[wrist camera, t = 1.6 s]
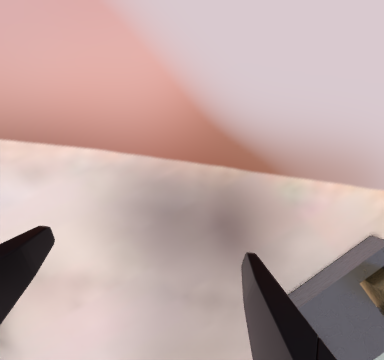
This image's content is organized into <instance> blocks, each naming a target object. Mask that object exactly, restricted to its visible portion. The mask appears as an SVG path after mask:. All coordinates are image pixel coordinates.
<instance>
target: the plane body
mask: <svg viewBox="0 0 384 360" xmlns="http://www.w3.org/2000/svg"><path fill="white" fill-rule="evenodd" d="M380 268H382V269H384V239H380V238H376V237H373V236H369V237H368V238H367V239H365V240H364V241H363V242H361V243H360V244H358V245H357V246H356V247H354V248H353V249H351V250H350V251H349V252H347V253H346V254H345V255H343V256H342V257H340V258H339V259H338V260H336V261H335V262H333V263H332V264H331V265H329V266H328V267H327V268H325V269H324V270H322V271H321V272H320V273H318V274H317V275H315V276H314V277H313V278H311V279H310V280H309V281H307V282H306V283H304V284H303V285H302V286H300V287H299V288H297V289H296V290H295V291H293V292H292V293H291V294H289V295H288V296H289V298H290V299H291V300H292V302H293V303H294V304H295V306H296V307H297V308H298V310H299V311H300V312H301V313H302V315H303V316H304V317H305V319H306V320H307V321H308V323H309V324H310V325H311V327H312V328H313V329H314V331H315V332H316V333H317V334H318V337H320V338H321V340H322V341H323V342H324V343H325V345H326V346H327V347H328V349H329V350H330V351H331V353H332V354H333V355H334V356H335V358H336V359H337V360H374V359H376V358H377V357H378V356H380V355H381V354H382V353H384V311H383V310H382V309H380V308H379V307H376V305H375V304H374V303H373V301H372V300H371V299H370V297H369V296H368V294H367V293H366V292H365V290H364V289H363V288H362V286H361V285H360V283H361V282H362V281H364V280H365V279H366V278H368V277H369V276H371V275H372V274H373V273H375V272H376V271H377V270H379V269H380Z"/></svg>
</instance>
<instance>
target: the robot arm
mask: <svg viewBox="0 0 384 360" xmlns="http://www.w3.org/2000/svg"><path fill="white" fill-rule="evenodd" d="M54 242H55V239H54V236H53V233H52V230H51V228H50V227H48V226H38V227H36V228H33V229H31V230H29V231H27V232H25V233H23V234H21V235H18V236H16V237H14V238H12V239H10V240H8V241H6V242H3V243H1V244H0V324H1V323H2V322H3V320H4V319H5V317H6V316H7V315H8V313H9V312H10V310H11V309H12V308H13V306H14V305H15V303H16V302H17V301H18V299H19V298H20V296H21V295H22V294H23V292H24V291H25V289H26V288H27V287H28V285H29V284H30V283H31V281H32V280H33V278H34V277H35V275H36V273H37V272H38V270H39V269H40V267H41V265H42V263H43V262H44V260H45V258H46V257H47V255H48V253H49V252H50V250H51V248H52V246H53V245H54ZM241 270H242V286H243V301H244V310H245V316H246V322H247V328H248V334H249V339H250V345H251V351H252V357H253V360H337V359H336V358H335V356H334V355H333V354H332V353H331V351H330V350H329V349H328V347H327V346H326V345H325V343H324V342H323V341H322V340H321V338H320V337H318V334H317V333H316V332H315V331H314V329H313V328H312V327H311V325H310V324H309V323H308V321H307V320H306V319H305V317H304V316H303V315H302V313H301V312H300V311H299V310H298V308H297V307H296V306H295V304H294V303H293V302H292V300H291V299H290V298H289V296H288V295H287V294H286V293H285V291H284V290H283V289H282V287H281V286H280V285H279V283H278V282H277V281H276V279H275V278H274V277H273V276H272V274H271V273H270V272H269V270H268V269H267V268H266V266H265V265H264V264H263V262H262V261H261V260H260V258H259V257H258V256H257V255H256V254H255V253H249V252H247V253H246V254H245V257H244V259H243V262H242V267H241Z"/></svg>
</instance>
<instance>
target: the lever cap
mask: <svg viewBox="0 0 384 360" xmlns="http://www.w3.org/2000/svg"><path fill="white" fill-rule="evenodd" d="M360 285H361V286H362V288H363V289H364V290H365V292H366V293H367V294H368V296H369V297H370V299H371V300H372V301H373V303H374V304H375V305H376V306H377V307H379V308H380V309H382V310H383V311H384V269H382V268H380V269H379V270H377V271H376V272H375V273H373V274H372V275H371V276H369V277H368V278H366V279H365V280H364V281H362V282H361V283H360Z"/></svg>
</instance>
